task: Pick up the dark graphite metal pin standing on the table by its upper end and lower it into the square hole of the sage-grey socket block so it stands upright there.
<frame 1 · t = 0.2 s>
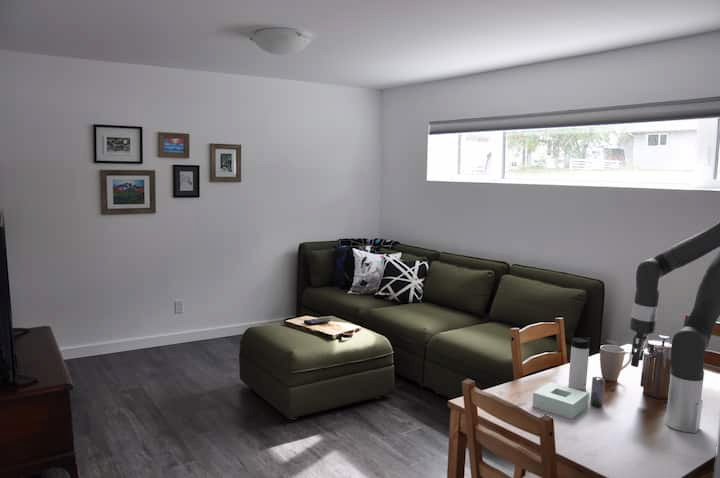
hand: (636, 362, 190), 18 cm above the table, tool pointing down, fingers open, 8 cm apart
socket block: (559, 406, 195), on the table
travel mug: (577, 389, 212), on the table
pin: (596, 405, 197), on the table
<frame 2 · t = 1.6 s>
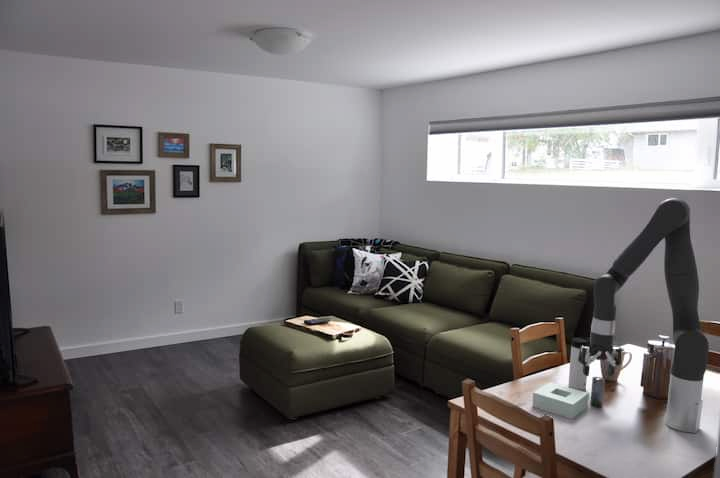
hand: (597, 375, 195), 11 cm above the table, tool pointing down, fingers open, 8 cm apart
nothing on the table moved.
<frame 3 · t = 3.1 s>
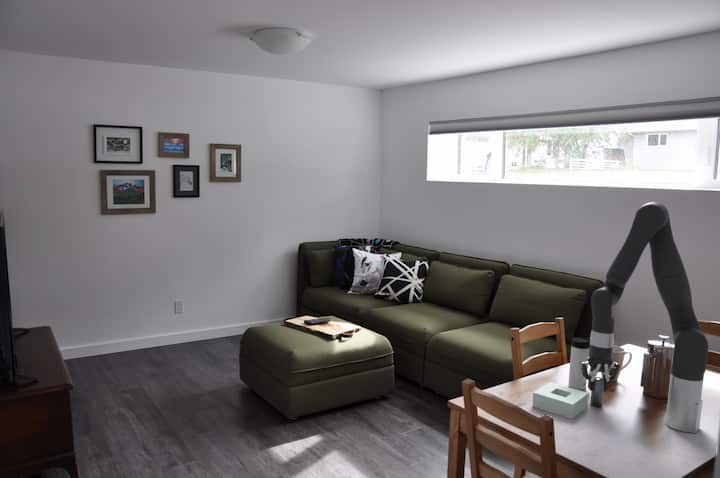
hand: (597, 390, 196), 6 cm above the table, tool pointing down, fingers closed on pin, 4 cm apart
pin: (596, 405, 197), on the table, touching gripper
everything else where it was.
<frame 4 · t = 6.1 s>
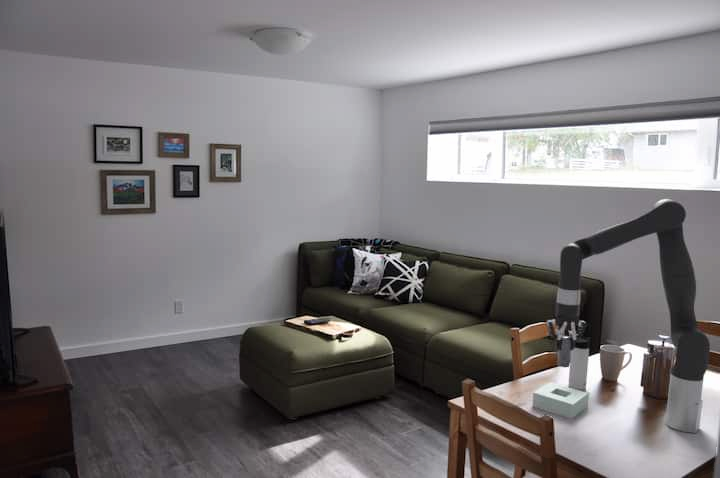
hand: (564, 349, 193), 21 cm above the table, tool pointing down, fingers closed on pin, 4 cm apart
pin: (563, 365, 194), point 15 cm above the table, touching gripper
everything else where it was.
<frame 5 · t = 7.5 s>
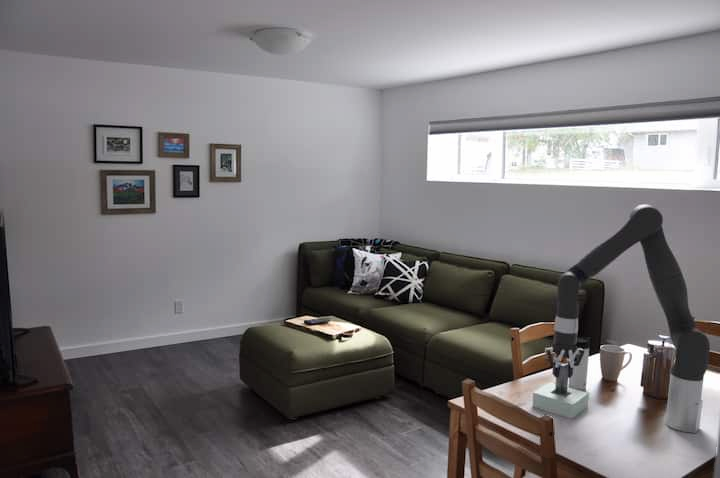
hand: (562, 376, 194), 11 cm above the table, tool pointing down, fingers closed on pin, 4 cm apart
pin: (560, 392, 195), point 5 cm above the table, touching gripper
everything else where it was.
when the fingers open (7 cm above the table, at t = 8.9 s): pin stays where it is, resting on socket block.
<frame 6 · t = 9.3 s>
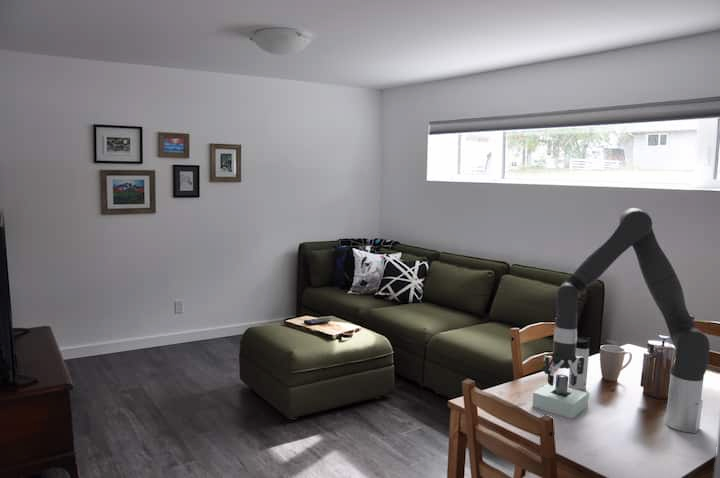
hand: (561, 385, 194), 8 cm above the table, tool pointing down, fingers open, 7 cm apart
pin: (560, 403, 195), point 1 cm above the table, touching socket block
everything else where it was.
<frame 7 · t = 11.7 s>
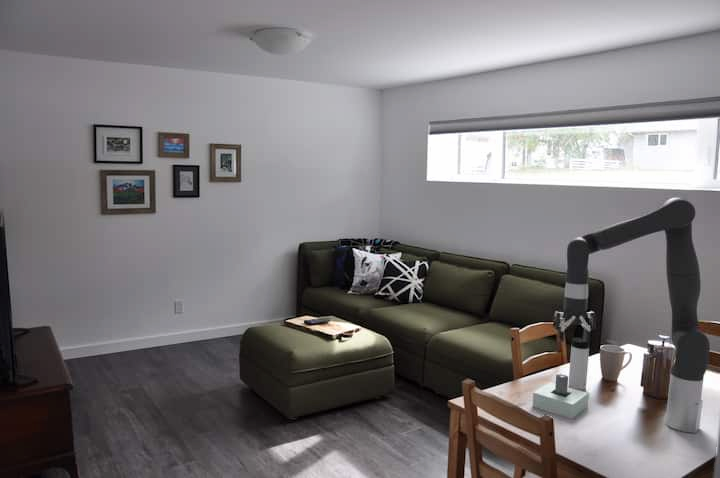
hand: (573, 341, 193), 24 cm above the table, tool pointing down, fingers open, 8 cm apart
nothing on the table moved.
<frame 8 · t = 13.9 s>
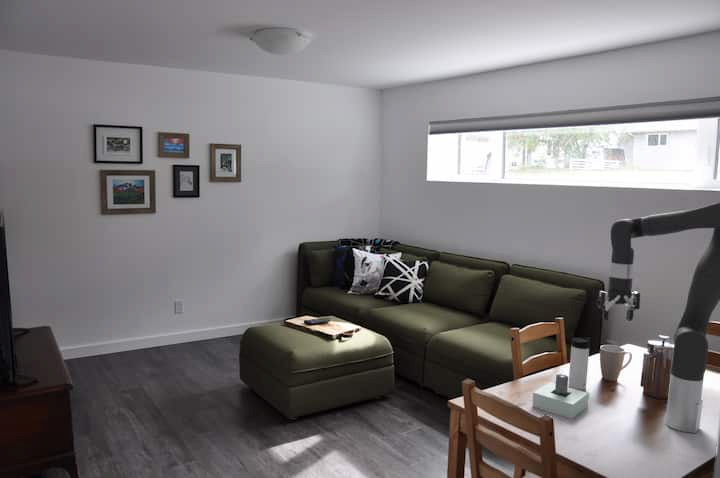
hand: (617, 320, 198), 30 cm above the table, tool pointing down, fingers open, 8 cm apart
nothing on the table moved.
at the end: pin 0.0 cm off-centre on the socket block, point 1.0 cm above the socket block's base; pin tilted 0°; the gripper is holding nothing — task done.
